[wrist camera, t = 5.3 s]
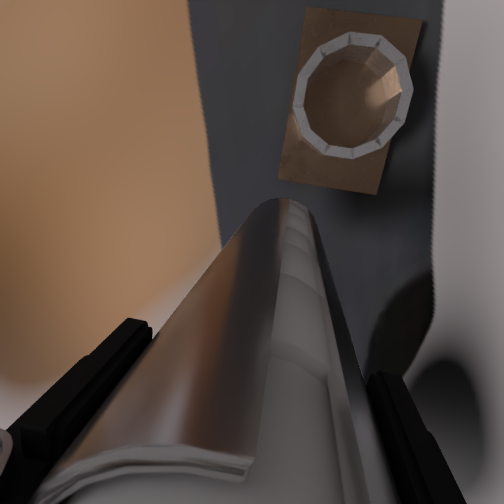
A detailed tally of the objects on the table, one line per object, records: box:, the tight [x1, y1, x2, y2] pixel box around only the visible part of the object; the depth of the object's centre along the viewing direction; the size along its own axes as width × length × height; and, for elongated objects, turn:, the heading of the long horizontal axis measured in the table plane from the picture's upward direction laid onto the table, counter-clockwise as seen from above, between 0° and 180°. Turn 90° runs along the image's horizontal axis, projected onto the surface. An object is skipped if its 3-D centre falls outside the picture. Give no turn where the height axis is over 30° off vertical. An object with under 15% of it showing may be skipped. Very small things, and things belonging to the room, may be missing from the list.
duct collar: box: [278, 7, 423, 195], centre depth 33 cm, size 18×12×6 cm, turn 172°
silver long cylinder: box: [27, 198, 401, 504], centre depth 16 cm, size 6×6×25 cm
